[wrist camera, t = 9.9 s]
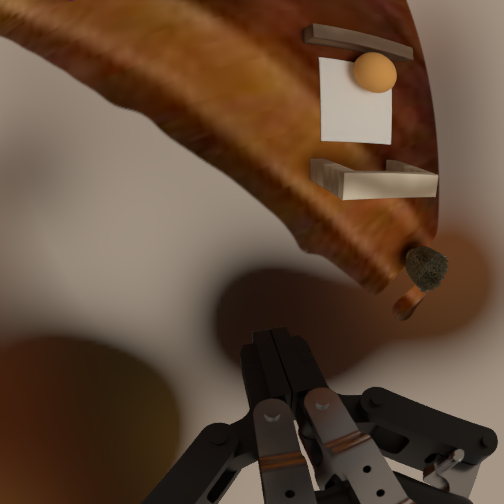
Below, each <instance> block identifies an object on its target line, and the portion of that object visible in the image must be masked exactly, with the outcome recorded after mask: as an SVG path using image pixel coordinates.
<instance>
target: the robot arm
mask: <svg viewBox="0 0 504 504" xmlns="http://www.w3.org/2000/svg"><path fill="white" fill-rule="evenodd" d="M252 341H253V344H246V345H243V346H242V349H241V353H240V359H241V369H242V376H243V381H244V385H245V390H246V395H247V399H248V403H249V408H250V410H249V412H248V413H247V415H246V416H245V417H244V418H242V419H241V420H239V421H237V422H235V423H232V424H230V425H228V424H225V423H213V424H210V425H208V426H206V427H205V428H204V429H203V430H202V431H201V433H200V434H199V435H198V436H197V438H196V439H195V440H194V441H193V443H192V444H191V445H190V446H189V448H188V449H187V450H186V451H185V453H184V454H183V455H182V456H181V458H180V459H179V460H178V461H177V463H176V464H175V465H174V466H173V467H172V468H171V470H170V471H169V472H168V473H167V474H166V475H165V477H164V478H163V479H162V480H161V481H160V483H159V484H158V485H157V486H156V487H155V488H154V489H153V490H152V492H151V493H150V494H149V495H148V496H147V497H146V499H144V501H143V502H142V503H141V504H218V503H219V501H220V500H221V498H222V497H223V496H224V494H225V493H226V491H227V490H228V489H229V487H230V486H231V484H232V483H233V481H234V480H235V478H236V477H237V475H238V474H239V473H240V471H241V469H242V468H244V467H246V466H248V465H250V464H252V463H254V462H256V461H258V464H259V470H260V477H261V484H262V491H263V498H264V504H473V503H472V502H471V501H470V500H469V499H468V498H469V495H470V493H471V490H472V487H473V485H474V481H475V479H476V476H477V473H478V469H479V467H480V464H481V462H482V461H483V460H484V459H486V458H487V457H488V456H490V455H491V454H492V453H493V452H494V451H495V450H496V448H497V444H498V440H497V435H496V433H495V432H494V431H493V430H492V429H490V428H487V427H484V426H481V425H478V424H475V423H471V422H469V421H466V420H463V419H460V418H457V417H454V416H451V415H449V414H446V413H443V412H441V411H438V410H435V409H433V408H430V407H428V406H425V405H423V404H420V403H418V402H415V401H413V400H410V399H408V398H405V397H403V396H400V395H398V394H396V393H393V392H391V391H389V390H386V389H384V388H381V387H372V388H369V389H367V390H365V391H364V392H363V394H362V395H341V394H337V393H336V392H334V391H333V390H331V389H330V388H329V387H328V386H327V383H326V381H325V379H324V377H323V375H322V373H321V371H320V369H319V367H318V364H317V363H316V360H315V359H314V356H313V354H312V353H311V350H310V348H309V345H308V344H307V342H306V341H305V340H304V339H303V338H301V337H300V336H299V335H297V336H292V337H290V334H289V332H288V330H287V327H286V326H284V327H278V328H272V329H267V330H261V331H254V332H252ZM293 420H296V421H297V424H298V427H299V428H298V435H299V438H300V440H301V442H302V444H303V446H304V449H305V451H306V453H307V455H308V458H309V460H310V462H311V464H312V466H313V469H314V472H315V479H316V482H317V485H318V486H319V489H320V491H314V489H313V485H312V481H311V477H310V473H309V469H308V465H307V462H306V459H305V457H304V456H303V455H302V453H301V450H300V446H299V442H298V438H297V434H296V430H295V425H294V422H293ZM383 456H385V457H388V458H390V459H392V460H395V461H397V462H399V463H402V464H405V465H407V466H410V467H412V468H415V469H418V470H421V471H423V481H424V482H426V483H428V484H430V485H428V484H426V483H423V482H420V481H417V480H415V479H413V478H411V477H408V476H406V475H403V474H401V473H398V472H395V471H392V470H391V468H390V467H389V465H388V463H387V462H386V460H385V458H384V457H383ZM431 485H432V486H431Z"/></svg>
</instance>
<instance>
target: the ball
mask: <svg viewBox="0 0 504 504" xmlns="http://www.w3.org/2000/svg"><path fill="white" fill-rule="evenodd" d="M353 72H354V77H355V79H356V81H357V82H358V84H359V85H360V86H361V87H362V88H364V89H365V90H367V91H369V92H372V93H384V92H387V91H388V90H390V89H391V88H392V87H393V86H394V84H395V82H396V78H397V74H396V69H395V67H394V65H393V63H392V62H391V61H390V60H389V59H388V58H387V57H386V56H384V55H382V54H379V53H375V52H369V53H365V54H362V55H361V56H359V57H358V58H357V60H356V61H355V63H354V67H353Z"/></svg>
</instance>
